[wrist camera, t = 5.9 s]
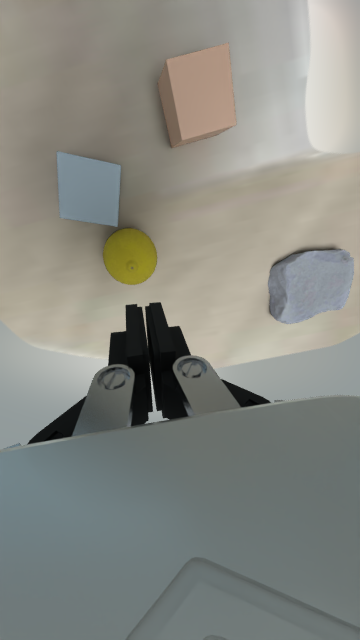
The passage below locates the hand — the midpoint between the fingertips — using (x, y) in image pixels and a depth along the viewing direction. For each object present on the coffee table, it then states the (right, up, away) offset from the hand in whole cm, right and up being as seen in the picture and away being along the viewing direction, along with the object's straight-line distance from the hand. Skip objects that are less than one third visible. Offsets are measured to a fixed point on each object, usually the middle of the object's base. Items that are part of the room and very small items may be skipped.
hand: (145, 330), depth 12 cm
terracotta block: (+3, +21, +12) cm, 24 cm away
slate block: (-7, +14, +13) cm, 21 cm away
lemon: (-4, +9, +17) cm, 20 cm away
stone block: (+20, +7, +25) cm, 33 cm away
